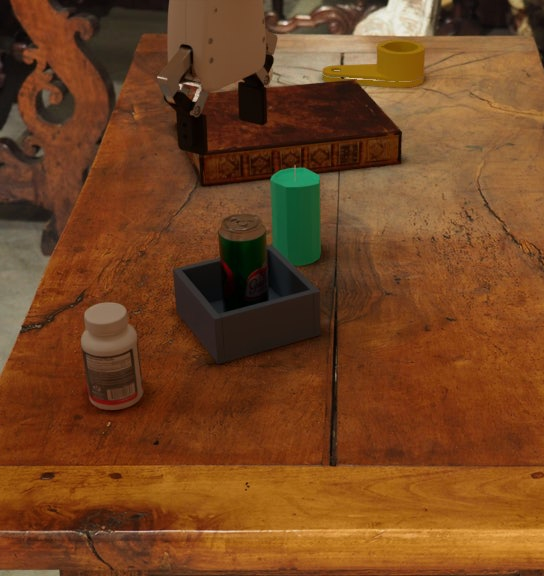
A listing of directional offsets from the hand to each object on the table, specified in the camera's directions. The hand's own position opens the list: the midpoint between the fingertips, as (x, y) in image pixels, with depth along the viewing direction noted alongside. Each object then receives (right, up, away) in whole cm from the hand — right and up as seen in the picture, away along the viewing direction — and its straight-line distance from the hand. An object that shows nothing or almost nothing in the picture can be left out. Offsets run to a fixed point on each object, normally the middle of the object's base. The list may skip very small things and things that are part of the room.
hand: (224, 136), depth 107 cm
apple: (-6, +18, +77) cm, 79 cm away
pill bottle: (-11, -26, 0) cm, 28 cm away
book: (+1, +7, +57) cm, 58 cm away
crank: (+14, +22, +84) cm, 88 cm away
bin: (+1, -19, +12) cm, 23 cm away
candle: (+5, -11, +26) cm, 29 cm away
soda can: (+1, -19, +12) cm, 22 cm away
